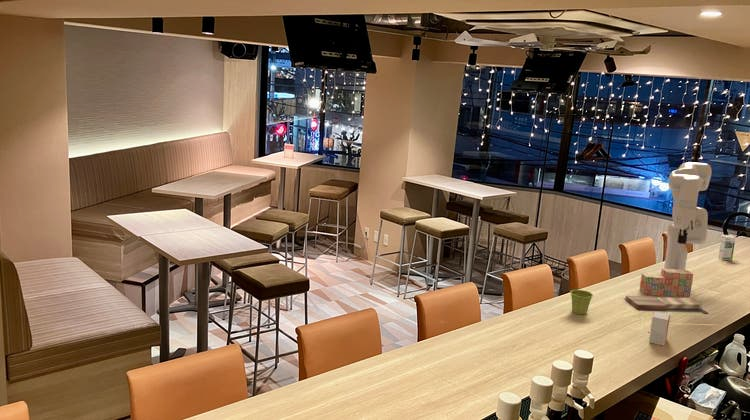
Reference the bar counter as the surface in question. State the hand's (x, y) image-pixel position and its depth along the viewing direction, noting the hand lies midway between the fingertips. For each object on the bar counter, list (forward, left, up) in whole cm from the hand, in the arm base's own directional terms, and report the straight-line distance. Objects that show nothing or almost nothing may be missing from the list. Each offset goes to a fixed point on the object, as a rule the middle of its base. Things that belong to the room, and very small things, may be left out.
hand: (681, 243), depth 274 cm
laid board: (+11, -19, -27) cm, 34 cm away
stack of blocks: (-6, -2, -28) cm, 28 cm away
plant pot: (+22, -53, -27) cm, 64 cm away
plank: (+11, -4, -26) cm, 29 cm away
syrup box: (-77, +72, -27) cm, 109 cm away
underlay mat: (+11, -10, -27) cm, 31 cm away
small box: (+51, -33, -27) cm, 67 cm away
